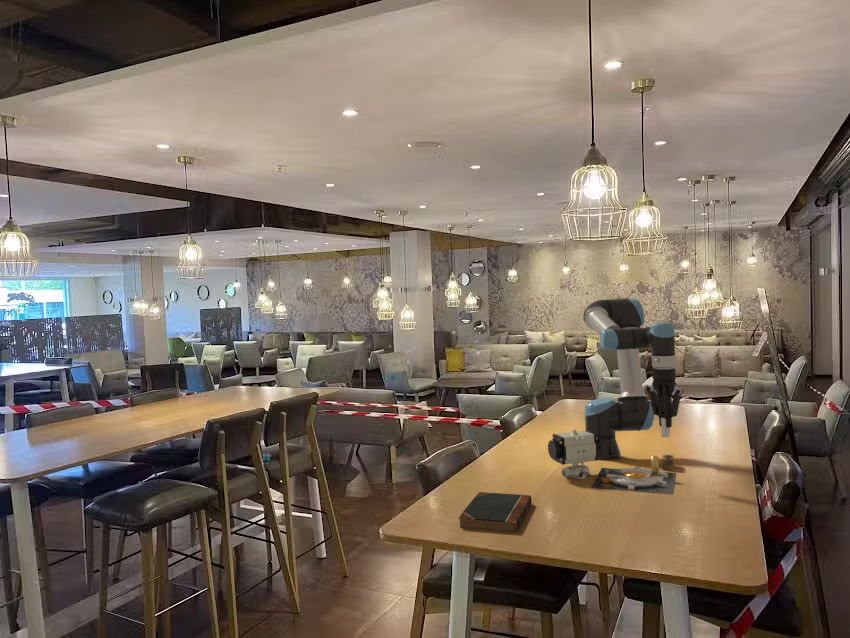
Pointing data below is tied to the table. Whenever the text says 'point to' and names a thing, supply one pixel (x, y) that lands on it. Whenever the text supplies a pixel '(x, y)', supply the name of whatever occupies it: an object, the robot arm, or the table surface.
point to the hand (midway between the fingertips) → (665, 436)
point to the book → (496, 511)
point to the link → (668, 462)
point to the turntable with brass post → (637, 476)
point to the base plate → (660, 490)
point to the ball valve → (574, 451)
